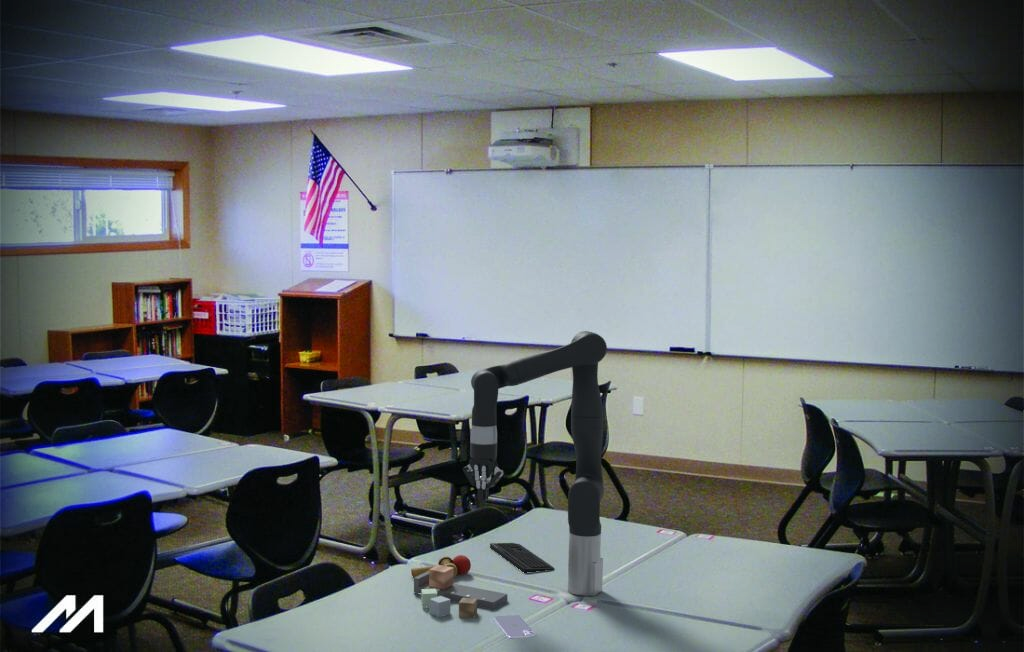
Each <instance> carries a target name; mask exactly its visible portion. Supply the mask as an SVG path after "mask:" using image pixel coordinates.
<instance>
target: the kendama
mask: <svg viewBox="0 0 1024 652" xmlns="http://www.w3.org/2000/svg"><path fill="white" fill-rule="evenodd" d="M437 564H438V565H442V566H447V567H453V568H454V570H453V579H454V578H455V577H456V576H465V575H467V574H468V573H469V572H470V570H471V565H472V564H471V561H470V559H469V557H468V556H466V555H463V554H459V555H457V556H454V558H451V557H450V556H447V555H443V556H442V557H440V558H439V559H438V563H437ZM435 566H436V565H431V566H430V565H429V566H423V567H414V568H413V567H412V568H411V570H410V571H411V572H410V573H411V577H412V576H413V578H415V577H417V576H419V575H421V574H423V573H425V572H427V571H429V569H431V568H433V567H435ZM413 578H412V579H413Z"/></svg>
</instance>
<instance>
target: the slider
mask: <svg viewBox="0 0 1024 652" xmlns="http://www.w3.org/2000/svg"><path fill="white" fill-rule="evenodd" d="M434 566H435V567H433V568H431V569H429V587H433V588H438V589H443V590H444V589H446V588H448V587H450V586H452V585H453V584H454V578H453V570H454V568H453V567H447V566H442V565H434Z"/></svg>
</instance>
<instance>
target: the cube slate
mask: <svg viewBox="0 0 1024 652" xmlns="http://www.w3.org/2000/svg"><path fill="white" fill-rule="evenodd" d="M428 609H429V612H430V613H432V614H434V615H433V616H435V615H436V616H435V617H437V616H438V617H437V618H441V617H444V616H443V615H445V616H448V615H451V601H450V599H448V598H445V597H443V596H438V597H435V598H431V599H430V602H429V608H428ZM430 613H429V614H430ZM432 614H431V615H432ZM447 614H448V615H447ZM440 616H441V617H440Z"/></svg>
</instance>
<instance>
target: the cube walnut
mask: <svg viewBox="0 0 1024 652" xmlns="http://www.w3.org/2000/svg"><path fill="white" fill-rule="evenodd" d="M477 614H478V606H477V599H474V598H464V597H463V598H462V599H461V600H460V602H458V617H459V618H468V619H469V618H470V619H474V617H475V616H476V615H477Z"/></svg>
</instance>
